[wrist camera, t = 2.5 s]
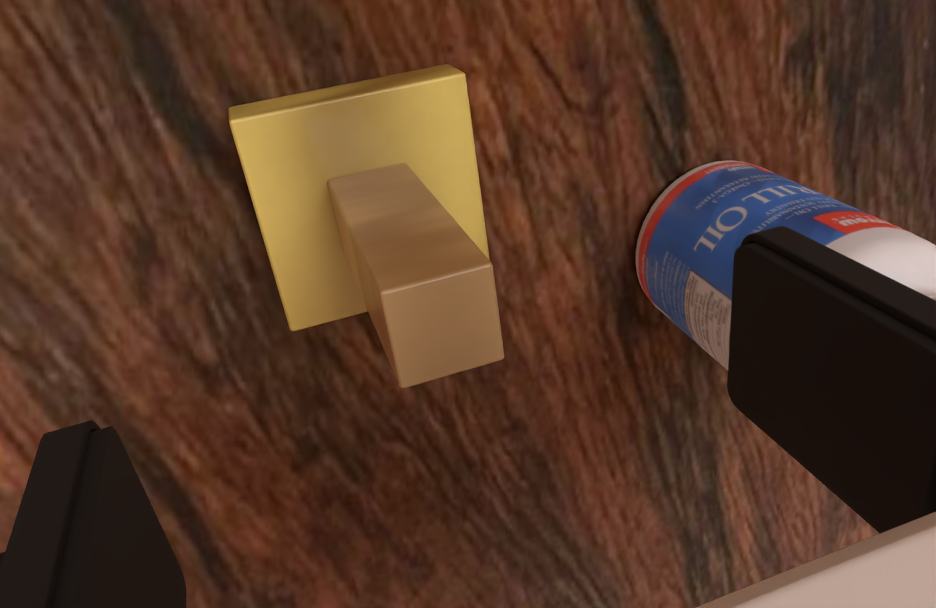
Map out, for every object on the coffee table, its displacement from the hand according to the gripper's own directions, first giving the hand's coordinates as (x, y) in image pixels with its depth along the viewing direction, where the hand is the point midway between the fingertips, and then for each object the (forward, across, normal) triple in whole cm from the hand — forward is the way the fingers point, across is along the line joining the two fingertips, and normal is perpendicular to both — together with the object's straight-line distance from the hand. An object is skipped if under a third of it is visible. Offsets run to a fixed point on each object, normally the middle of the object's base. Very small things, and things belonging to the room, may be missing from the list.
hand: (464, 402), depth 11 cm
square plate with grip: (+10, 0, 0) cm, 10 cm away
